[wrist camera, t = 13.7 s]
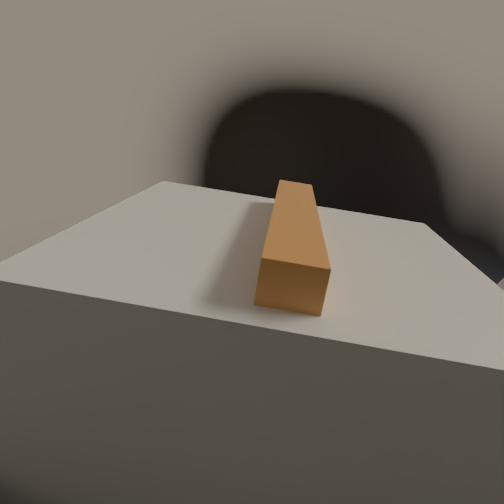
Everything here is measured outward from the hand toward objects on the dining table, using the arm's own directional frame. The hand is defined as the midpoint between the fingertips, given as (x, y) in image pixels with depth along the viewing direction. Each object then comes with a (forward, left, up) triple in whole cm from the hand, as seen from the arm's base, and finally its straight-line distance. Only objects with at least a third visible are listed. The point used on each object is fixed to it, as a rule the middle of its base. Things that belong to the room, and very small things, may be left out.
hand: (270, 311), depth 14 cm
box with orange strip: (+5, +2, -6) cm, 8 cm away
